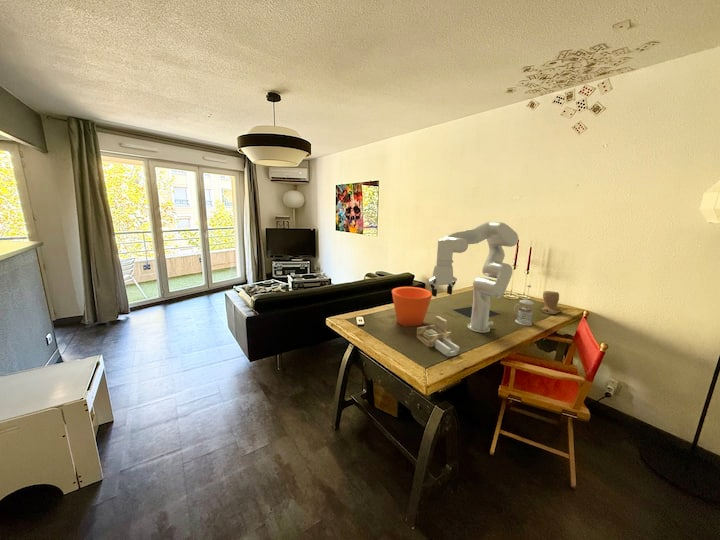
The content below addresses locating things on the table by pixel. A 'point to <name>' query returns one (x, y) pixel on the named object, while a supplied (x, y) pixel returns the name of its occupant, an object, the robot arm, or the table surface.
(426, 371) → the table surface
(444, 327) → the wooden board
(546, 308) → the stone cup
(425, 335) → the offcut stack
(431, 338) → the rack
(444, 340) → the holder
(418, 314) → the flowerpot
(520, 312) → the french press
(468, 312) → the tablet
